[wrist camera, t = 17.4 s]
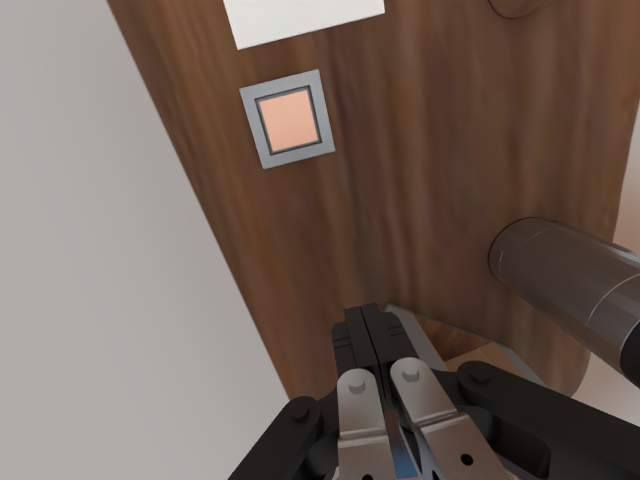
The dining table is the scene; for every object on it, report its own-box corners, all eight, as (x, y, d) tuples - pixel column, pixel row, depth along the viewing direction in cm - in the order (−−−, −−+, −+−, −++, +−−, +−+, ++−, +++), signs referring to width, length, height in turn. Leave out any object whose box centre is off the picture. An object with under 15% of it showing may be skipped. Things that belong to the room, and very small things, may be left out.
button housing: (314, 74, 31) (318, 69, 27) (329, 147, 33) (335, 150, 30) (244, 92, 31) (239, 88, 27) (265, 163, 33) (263, 169, 29)
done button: (305, 92, 29) (306, 90, 27) (315, 138, 31) (318, 140, 28) (261, 103, 29) (259, 102, 27) (274, 148, 31) (273, 151, 28)
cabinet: (508, 346, 46) (791, 640, 20) (471, 392, 49) (678, 702, 23) (387, 302, 41) (558, 616, 15) (354, 356, 44) (451, 700, 18)
